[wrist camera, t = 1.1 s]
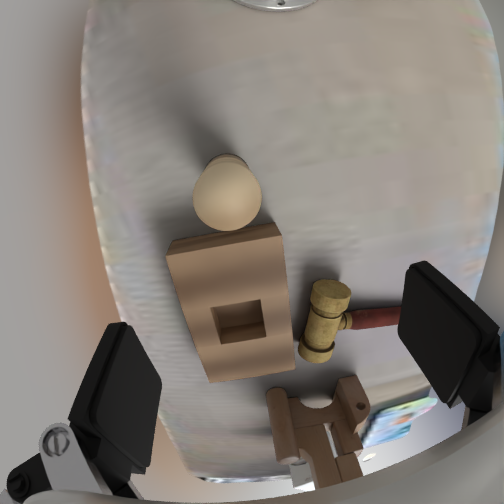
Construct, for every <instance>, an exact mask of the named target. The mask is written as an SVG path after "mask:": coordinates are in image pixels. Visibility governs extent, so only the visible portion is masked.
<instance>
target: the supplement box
mask: <svg viewBox="0 0 504 504" xmlns="http://www.w3.org/2000/svg"><path fill="white" fill-rule="evenodd" d="M326 432H327V435H328V438H329V442H330V445H331V448H332V451H333V455H334V458H336V457H337V455H336V452H335V449H334V446H333V442H332V439H331V436H330V433H329V432H328V431H326ZM289 466H290V471H291V477H292V481H293V487H294V488H295V489H300V490H305V491H312V490H315V487H314V482H313V478H312V474H311V470H310V466H309V463H307V462H306V461H305V460H304V459H303V458H302V457H300V460H298V461H297V462H295V463H291V464H289Z"/></svg>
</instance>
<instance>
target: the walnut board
mask: <svg viewBox="0 0 504 504" xmlns="http://www.w3.org/2000/svg"><path fill="white" fill-rule="evenodd" d="M165 257H166V260H167V263H168V267H169V270H170V273H171V277H172V280H173V283H174V286H175V289H176V292H177V295H178V298H179V301H180V304H181V307H182V310H183V313H184V316H185V319H186V322H187V325H188V327H189V330H190V333H191V336H192V338H193V341H194V344H195V347H196V349H197V352H198V354H199V357H200V360H201V362H202V365H203V367H204V370H205V372H206V375H207V377H208V380H209V382H210V383H213V382H221V381H229V380H236V379H243V378H250V377H256V376H262V375H268V374H273V373H279V372H284V371H289V370H294V369H295V357H294V346H293V335H292V324H291V314H290V304H289V294H288V285H287V275H286V266H285V258H284V249H283V241H282V235H281V233H280V231H279V229H278V227H277V225H276V224H275V222H274V223H268V224H262V225H256V226H250V227H245V228H240V229H237V230H232V231H222V232H217V233H211V234H206V235H201V236H195V237H190V238H185V239H179V240H174V241H172V243H171V245H170V247H169V249H168V252H167V254H166V256H165Z"/></svg>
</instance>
